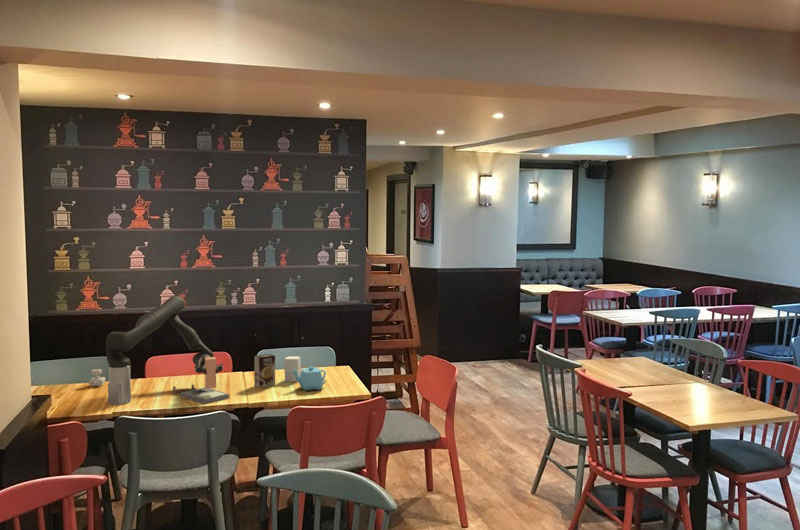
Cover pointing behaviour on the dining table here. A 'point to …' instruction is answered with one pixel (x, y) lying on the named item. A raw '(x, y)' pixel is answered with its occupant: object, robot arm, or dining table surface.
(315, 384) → the teapot
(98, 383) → the stamp
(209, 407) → the dining table surface
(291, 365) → the supplement box
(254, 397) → the dining table surface
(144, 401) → the dining table surface
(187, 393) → the board
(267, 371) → the coffee box
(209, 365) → the terracotta block
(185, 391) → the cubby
